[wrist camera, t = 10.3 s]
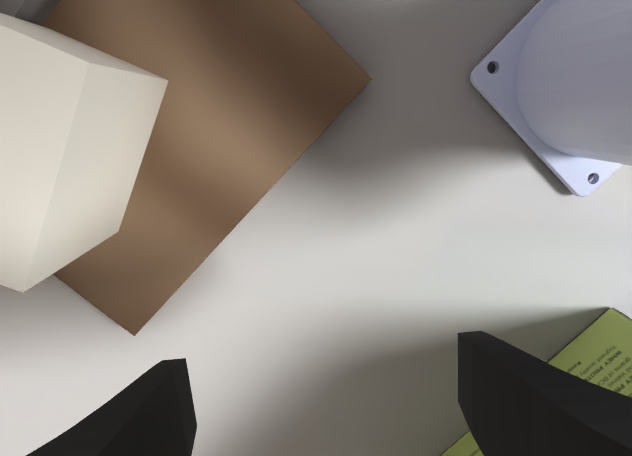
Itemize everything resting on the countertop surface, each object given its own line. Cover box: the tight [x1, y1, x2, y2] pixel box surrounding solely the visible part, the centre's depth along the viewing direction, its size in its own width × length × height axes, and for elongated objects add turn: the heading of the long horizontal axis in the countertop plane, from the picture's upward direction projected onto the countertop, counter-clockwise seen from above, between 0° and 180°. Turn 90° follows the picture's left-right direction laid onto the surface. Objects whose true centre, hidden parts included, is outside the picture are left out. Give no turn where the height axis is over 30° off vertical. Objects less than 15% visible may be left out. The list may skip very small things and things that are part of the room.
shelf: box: [0, 0, 371, 336], centre depth 19 cm, size 16×12×3 cm
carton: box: [0, 13, 169, 293], centre depth 16 cm, size 5×7×7 cm
